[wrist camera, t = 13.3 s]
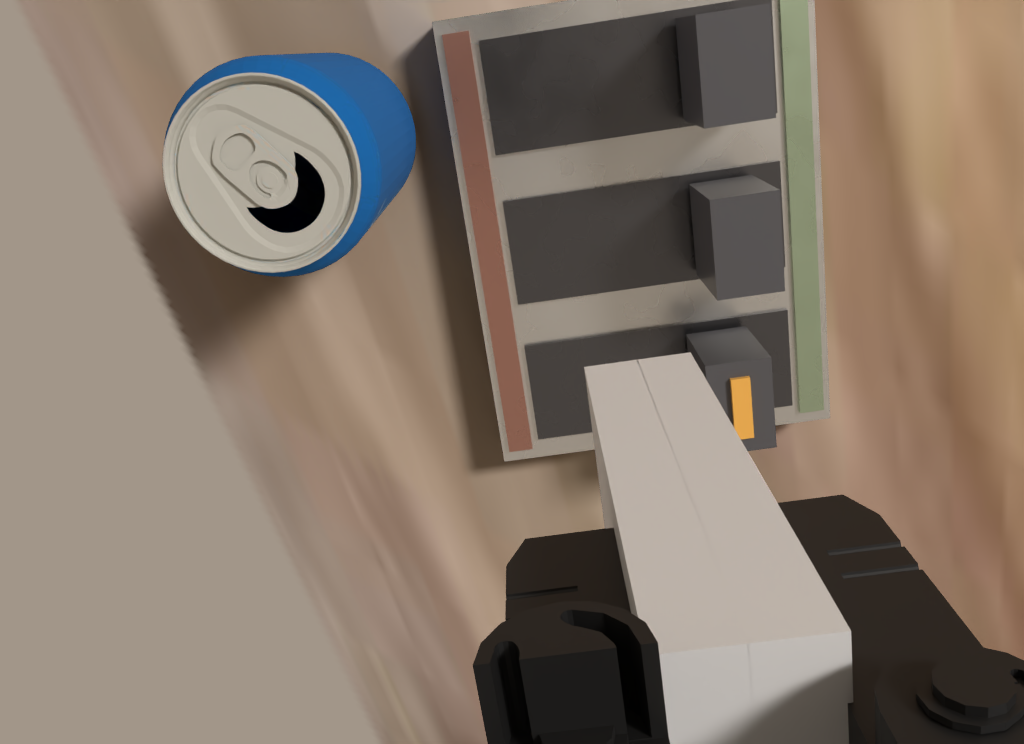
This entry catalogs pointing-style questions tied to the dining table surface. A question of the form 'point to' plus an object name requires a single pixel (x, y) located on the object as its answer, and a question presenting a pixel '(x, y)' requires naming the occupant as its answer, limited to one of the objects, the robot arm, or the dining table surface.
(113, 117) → the dining table surface
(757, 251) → the block
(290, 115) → the beverage can
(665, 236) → the panel
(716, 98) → the breaker
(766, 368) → the breaker
